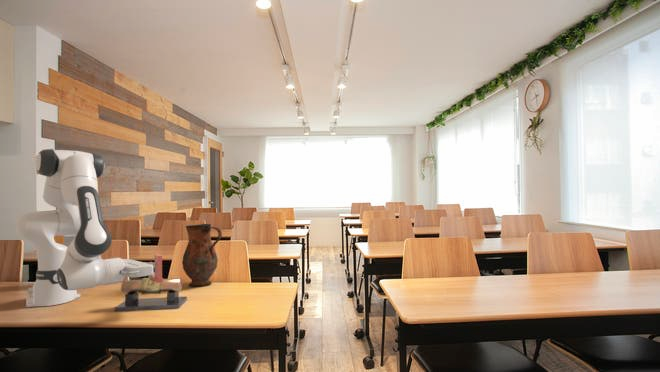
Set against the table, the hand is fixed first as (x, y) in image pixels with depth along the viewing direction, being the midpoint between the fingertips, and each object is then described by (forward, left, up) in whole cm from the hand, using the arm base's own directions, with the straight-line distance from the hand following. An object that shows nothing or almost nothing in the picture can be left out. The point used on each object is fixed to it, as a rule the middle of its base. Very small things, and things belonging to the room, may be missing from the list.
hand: (154, 264), depth 136 cm
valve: (-10, +4, -18) cm, 22 cm away
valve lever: (-4, +2, -7) cm, 8 cm away
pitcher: (-23, +35, -19) cm, 46 cm away
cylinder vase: (-79, -2, -19) cm, 82 cm away
